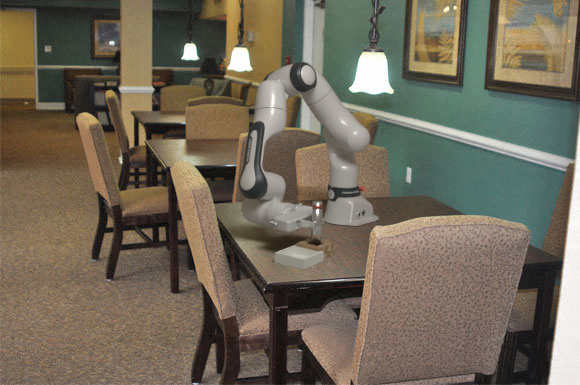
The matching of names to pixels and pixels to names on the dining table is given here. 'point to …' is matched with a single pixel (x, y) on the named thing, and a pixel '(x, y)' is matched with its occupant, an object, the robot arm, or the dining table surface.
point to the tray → (298, 257)
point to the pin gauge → (318, 219)
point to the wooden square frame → (318, 247)
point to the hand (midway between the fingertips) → (319, 223)
